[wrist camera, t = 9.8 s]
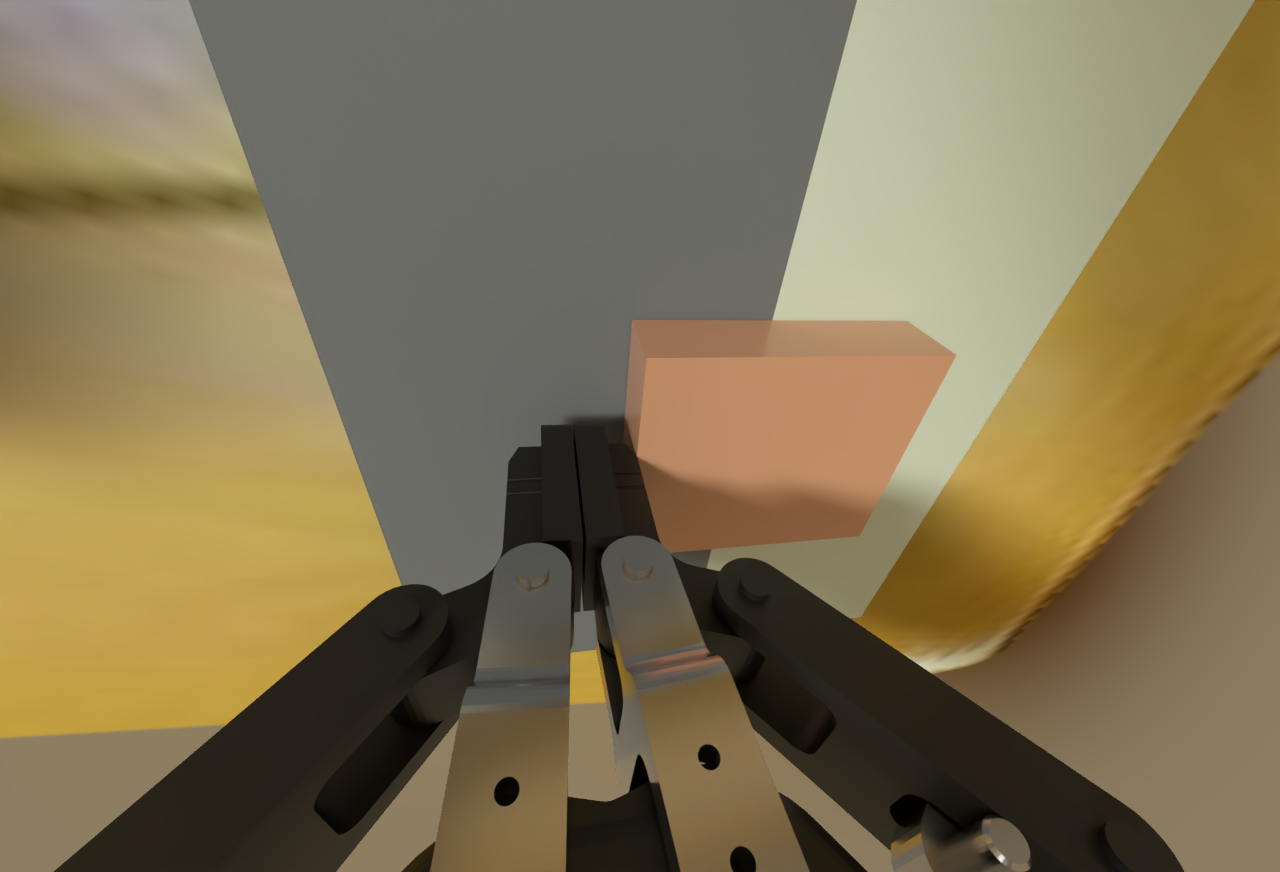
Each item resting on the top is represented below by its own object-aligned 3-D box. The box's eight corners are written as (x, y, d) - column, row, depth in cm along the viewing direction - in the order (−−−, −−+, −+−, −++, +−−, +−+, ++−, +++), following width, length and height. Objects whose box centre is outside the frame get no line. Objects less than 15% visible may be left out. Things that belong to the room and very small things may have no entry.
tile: (646, 358, 9) (956, 355, 10) (631, 319, 11) (906, 320, 12) (627, 556, 13) (859, 536, 14) (618, 507, 14) (829, 492, 16)
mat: (71, -405, 5) (24, -452, 5) (1289, -113, 8) (1334, -124, 8) (435, 654, 18) (432, 669, 18) (853, 605, 22) (860, 617, 21)
